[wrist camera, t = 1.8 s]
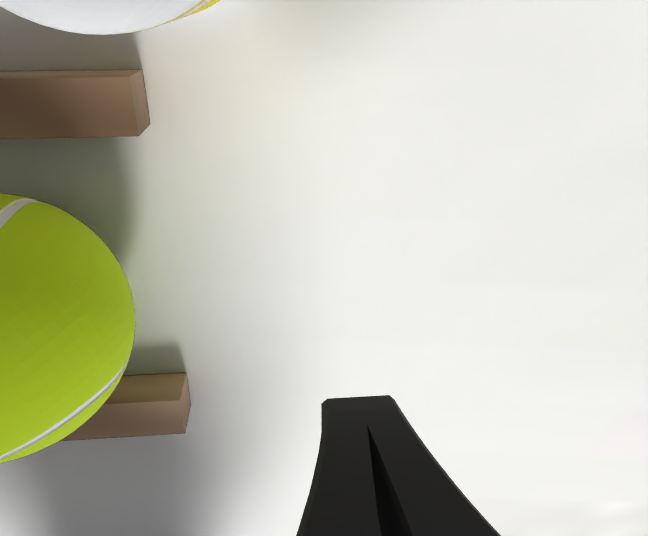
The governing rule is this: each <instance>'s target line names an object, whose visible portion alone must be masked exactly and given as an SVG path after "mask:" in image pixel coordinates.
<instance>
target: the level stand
mask: <svg viewBox="0 0 648 536" xmlns="http://www.w3.org/2000/svg"><path fill="white" fill-rule="evenodd" d="M149 125H150V120H149V113H148V106H147V99H146V92H145V85H144V79H143V72H142V70H72V71H0V139H23V138H70V137H117V136H139V135H140V134H141V133H142V132H143V131H144V130H145V129H146V128H147V127H148V126H149ZM190 406H191V402H190V396H189V389H188V382H187V375H186V373H175V374H156V375H137V376H122V377H121V379H120V381H119V383H118V384H117V386H116V388H115V389H114V391H113V392H112V393H111V395H110V396H109V398H108V399H107V400H106V401H105V402H104V404H103V405H102V406H101V407H100V408H99V409H98V411H97V412H96V413H95V414H93V415H92V416H91V417H90V418H89V419H88V420H87V421H86V422H85V423H84V424H82V425H81V426H80V427H79V428H77V429H76V430H75V431H73V432H72V433H70V434H69V435H67V436H66V437H64V438H63V439H61V440H59V441H68V440H85V439H101V438H117V437H133V436H149V435H166V434H182V433H185V431H186V426H187V421H188V416H189V411H190Z"/></svg>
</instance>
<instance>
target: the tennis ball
mask: <svg viewBox="0 0 648 536" xmlns="http://www.w3.org/2000/svg"><path fill="white" fill-rule="evenodd" d="M134 336H135V310H134V304H133V298H132V294H131V290H130V287H129V284H128V281H127V278H126V276H125V274H124V272H123V270H122V268H121V266H120V264H119V262H118V261H117V259H116V258H115V256H114V255H113V253H112V252H111V250H110V249H109V248H108V247H107V246H106V244H105V243H104V242H103V241H102V240H101V239H100V238H99V237H98V236H97V235H96V234H95V233H94V232H93V231H92V230H91V229H90V228H88V227H87V226H86V225H85V224H83V223H82V222H81V221H79V220H78V219H76V218H75V217H73V216H72V215H70V214H69V213H67V212H65V211H63V210H61V209H59V208H57V207H55V206H52V205H50V204H47V203H44V202H40V201H37V200H35V199H32V198H28V197H23V196H17V195H12V194H2V193H0V463H3V462H7V461H11V460H15V459H18V458H21V457H24V456H27V455H30V454H32V453H35V452H37V451H40V450H42V449H44V448H46V447H48V446H50V445H52V444H54V443H56V442H58V441H59V440H61V439H63V438H64V437H66V436H67V435H69V434H70V433H72V432H73V431H75V430H76V429H77V428H79V427H80V426H81V425H82V424H84V423H85V422H86V421H87V420H88V419H89V418H90V417H91V416H92V415H93V414H95V413H96V412H97V411H98V409H99V408H100V407H101V406H102V405H103V404H104V402H105V401H106V400H107V399H108V398H109V396H110V395H111V393H112V392H113V391H114V389H115V388H116V386H117V384H118V383H119V381H120V379H121V377H122V375H123V373H124V371H125V369H126V367H127V364H128V361H129V358H130V354H131V351H132V347H133V342H134Z"/></svg>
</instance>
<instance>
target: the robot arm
mask: <svg viewBox="0 0 648 536" xmlns="http://www.w3.org/2000/svg"><path fill="white" fill-rule="evenodd" d="M296 536H501V535H500V534H499V533H498V532H497V531H496V530H495V529H494V528H493V527H492V526H491V525H490V524H489V523H488V522H487V520H486V519H485V518H484V517H483V516H482V515H481V514H480V513H479V511H478V510H477V509H476V508H475V507H474V506H473V505H472V504H471V502H470V501H469V500H468V499H467V498H466V497H465V495H464V494H463V493H462V492H461V491H460V489H459V488H458V487H457V486H456V485H455V483H454V482H453V481H452V480H451V478H450V477H449V476H448V475H447V473H446V472H445V471H444V470H443V468H442V467H441V466H440V464H439V463H438V462H437V461H436V459H435V458H434V457H433V455H432V454H431V453H430V451H429V450H428V449H427V447H426V446H425V445H424V443H423V442H422V441H421V439H420V438H419V436H418V435H417V434H416V432H415V431H414V429H413V428H412V426H411V425H410V423H409V422H408V420H407V419H406V417H405V416H404V414H403V413H402V411H401V410H400V408H399V407H398V405H397V403H396V402H395V400H394V399H393V398H392V397H391V396H390V395H386V396H368V397H351V398H333V399H327V400H325V401H324V402H323V403H322V433H321V441H320V447H319V453H318V458H317V463H316V467H315V471H314V476H313V480H312V485H311V489H310V492H309V496H308V499H307V503H306V506H305V509H304V513H303V516H302V519H301V523H300V526H299V529H298V532H297V535H296Z"/></svg>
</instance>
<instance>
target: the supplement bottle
mask: <svg viewBox="0 0 648 536" xmlns="http://www.w3.org/2000/svg"><path fill="white" fill-rule="evenodd" d="M218 1H220V0H0V6H1V7H3V8H4V9H6V10H8V11H10V12H12V13H14V14H16V15H18V16H20V17H23V18H25V19H28V20H30V21H33V22H35V23H38V24H40V25H44V26H48V27H51V28H55V29H59V30H62V31H67V32H74V33H81V34H97V35H109V34H121V33H132V32H137V31H142V30H146V29H149V28H153V27H156V26H159V25H162V24H165V23H168V22H171V21H174V20H176V19H179V18H182V17H185V16H188V15H191V14H194V13H197V12H199V11H202V10H204V9H206V8H208V7H210V6H212V5H213V4H215V3H217V2H218Z"/></svg>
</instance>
